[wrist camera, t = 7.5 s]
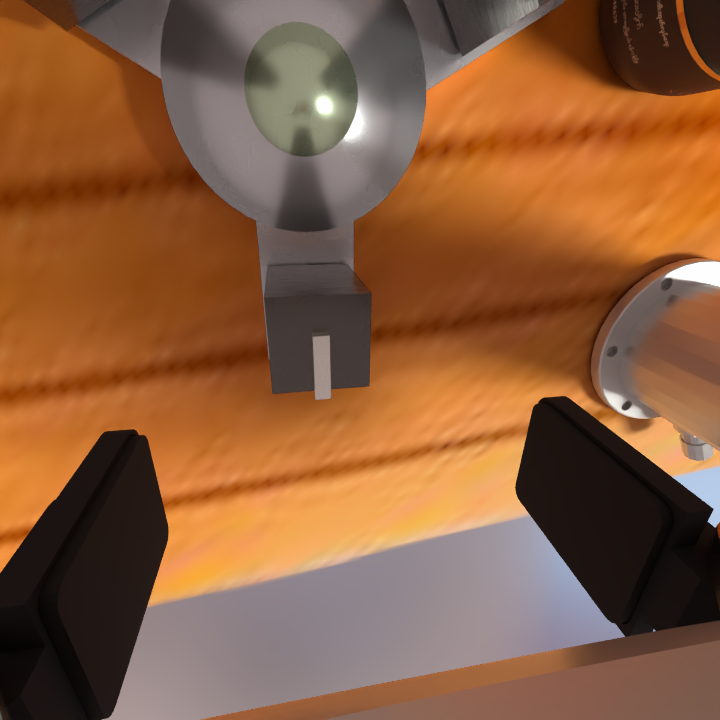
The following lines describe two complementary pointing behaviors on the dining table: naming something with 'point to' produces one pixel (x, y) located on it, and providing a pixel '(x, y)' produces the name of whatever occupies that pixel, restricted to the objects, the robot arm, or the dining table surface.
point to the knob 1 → (66, 10)
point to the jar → (663, 44)
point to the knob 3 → (485, 18)
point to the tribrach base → (295, 102)
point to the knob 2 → (317, 328)
